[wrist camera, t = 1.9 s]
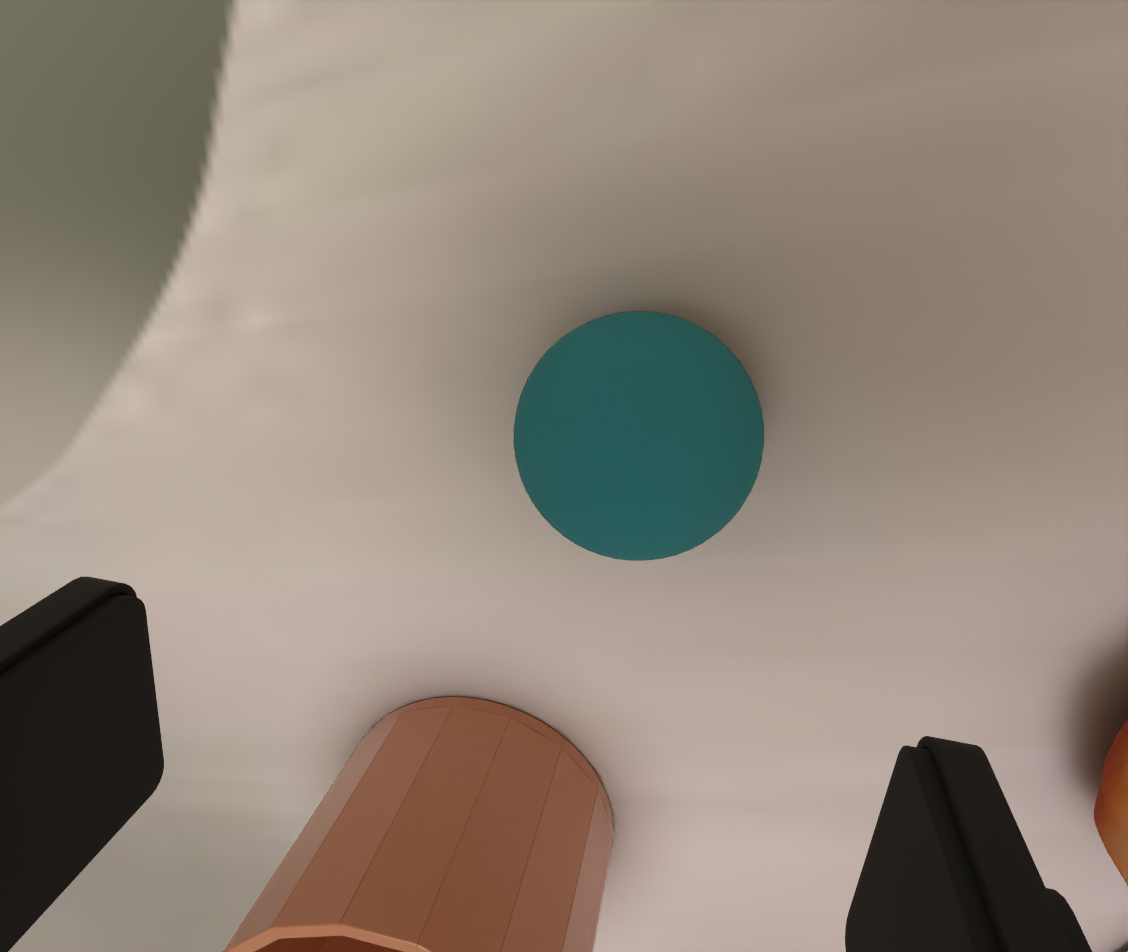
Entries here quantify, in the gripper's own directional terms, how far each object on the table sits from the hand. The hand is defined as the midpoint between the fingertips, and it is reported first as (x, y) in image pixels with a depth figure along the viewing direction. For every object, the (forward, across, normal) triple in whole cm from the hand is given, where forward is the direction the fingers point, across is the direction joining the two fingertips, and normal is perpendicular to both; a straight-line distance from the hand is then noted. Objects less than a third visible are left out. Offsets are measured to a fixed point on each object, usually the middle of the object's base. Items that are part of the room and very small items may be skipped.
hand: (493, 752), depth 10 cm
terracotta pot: (+14, +3, +15) cm, 21 cm away
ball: (+11, -1, -1) cm, 11 cm away
